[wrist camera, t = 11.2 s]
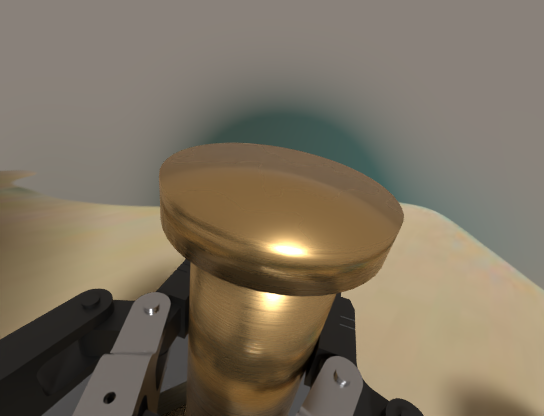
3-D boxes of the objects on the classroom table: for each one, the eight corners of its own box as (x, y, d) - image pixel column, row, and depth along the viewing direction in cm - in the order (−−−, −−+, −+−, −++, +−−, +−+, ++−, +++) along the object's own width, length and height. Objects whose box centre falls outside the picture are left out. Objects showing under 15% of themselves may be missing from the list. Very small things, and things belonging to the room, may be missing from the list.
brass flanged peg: (187, 555, 10) (208, 290, 3) (157, 387, 15) (141, 140, 8) (317, 453, 13) (455, 221, 7) (259, 343, 18) (306, 144, 12)
